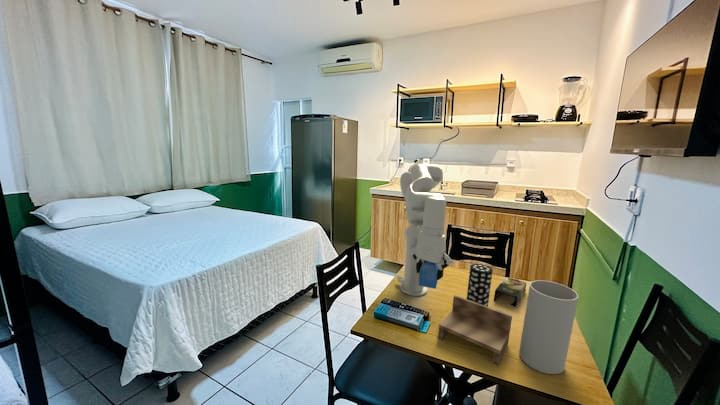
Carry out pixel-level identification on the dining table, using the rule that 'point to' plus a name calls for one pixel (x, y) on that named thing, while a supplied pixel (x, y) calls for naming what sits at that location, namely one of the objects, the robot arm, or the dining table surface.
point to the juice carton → (512, 289)
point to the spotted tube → (479, 283)
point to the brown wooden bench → (478, 326)
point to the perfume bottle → (428, 274)
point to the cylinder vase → (548, 326)
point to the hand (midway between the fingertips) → (428, 274)
